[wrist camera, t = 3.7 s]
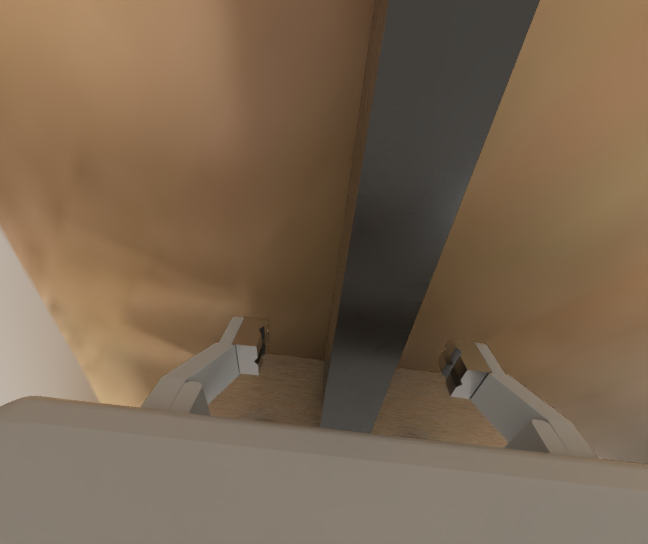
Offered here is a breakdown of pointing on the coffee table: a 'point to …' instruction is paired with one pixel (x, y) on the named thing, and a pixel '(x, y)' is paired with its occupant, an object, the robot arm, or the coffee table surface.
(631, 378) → the coffee table surface
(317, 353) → the coffee table surface
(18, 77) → the coffee table surface
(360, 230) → the scraper
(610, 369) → the coffee table surface
